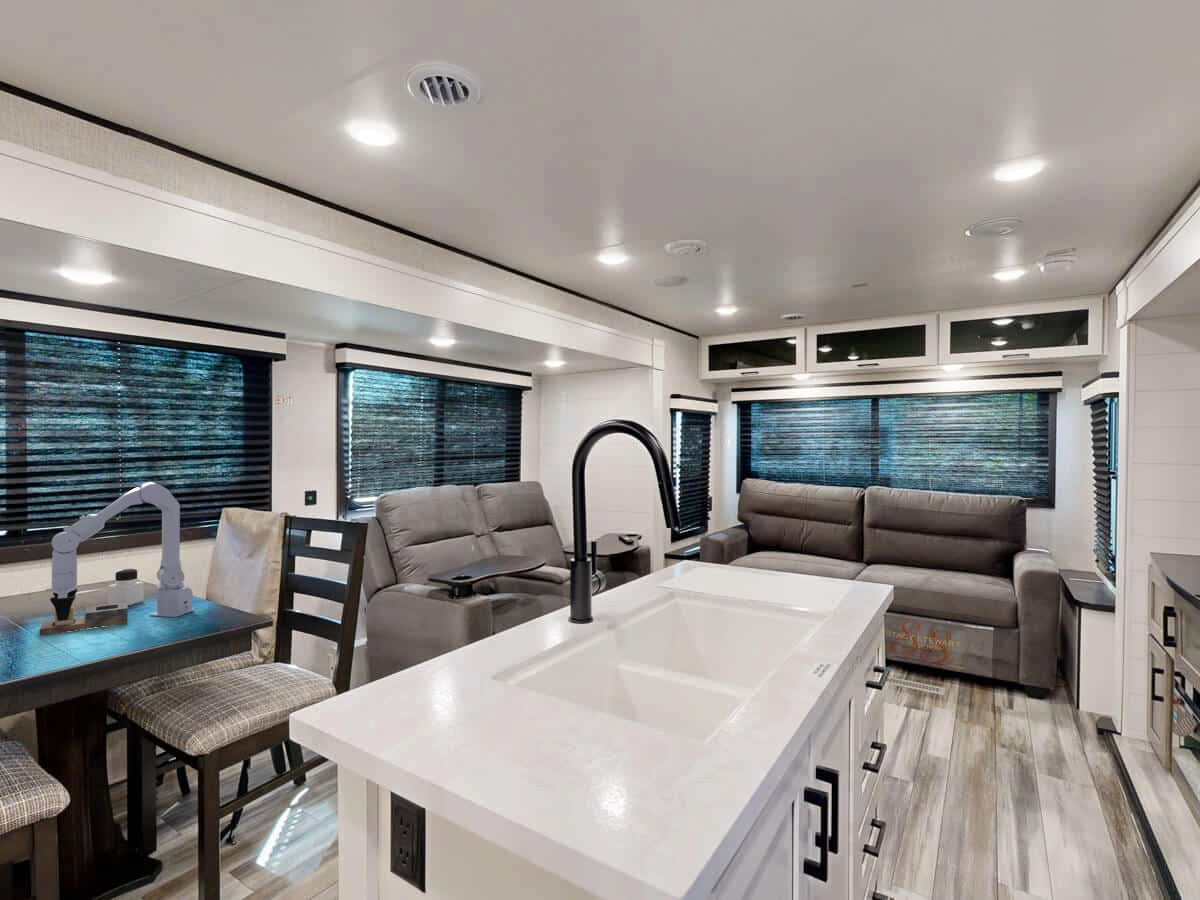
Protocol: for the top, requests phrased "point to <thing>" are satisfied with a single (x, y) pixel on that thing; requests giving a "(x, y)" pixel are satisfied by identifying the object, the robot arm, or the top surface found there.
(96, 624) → the wooden base
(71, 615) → the plug
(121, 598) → the medicine bottle
